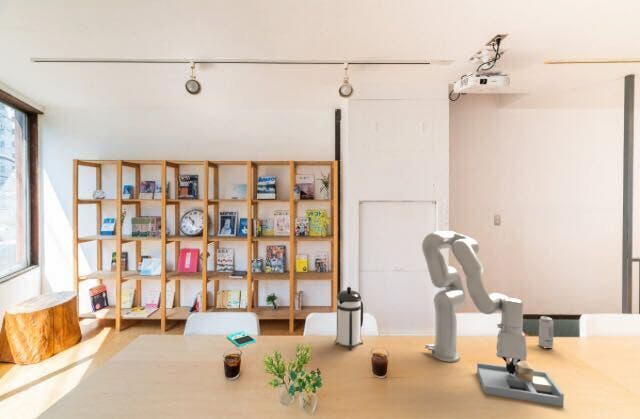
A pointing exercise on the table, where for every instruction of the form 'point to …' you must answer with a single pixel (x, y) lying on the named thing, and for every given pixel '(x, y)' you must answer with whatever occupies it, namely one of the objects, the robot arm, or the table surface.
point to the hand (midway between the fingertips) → (510, 372)
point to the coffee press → (349, 318)
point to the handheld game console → (241, 338)
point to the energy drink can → (546, 332)
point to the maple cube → (524, 371)
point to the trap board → (519, 385)
